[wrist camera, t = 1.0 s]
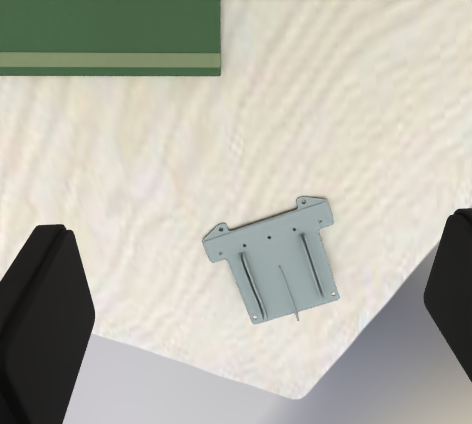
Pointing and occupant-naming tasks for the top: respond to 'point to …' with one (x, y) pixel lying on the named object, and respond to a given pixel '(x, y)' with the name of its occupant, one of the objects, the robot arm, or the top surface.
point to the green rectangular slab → (110, 38)
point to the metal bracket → (279, 261)
